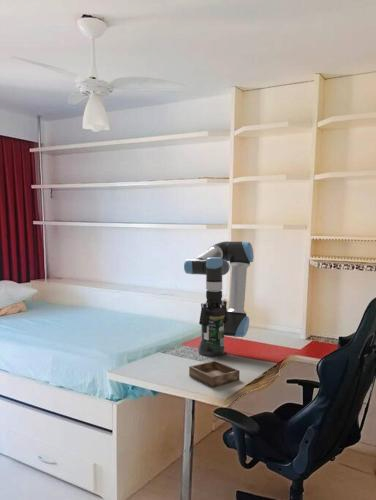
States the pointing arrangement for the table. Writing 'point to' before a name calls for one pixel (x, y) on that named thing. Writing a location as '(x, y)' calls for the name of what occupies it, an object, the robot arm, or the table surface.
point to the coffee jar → (215, 328)
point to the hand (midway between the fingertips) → (213, 337)
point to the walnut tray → (214, 373)
